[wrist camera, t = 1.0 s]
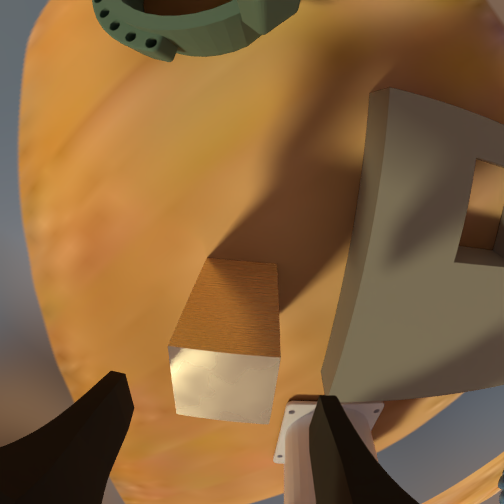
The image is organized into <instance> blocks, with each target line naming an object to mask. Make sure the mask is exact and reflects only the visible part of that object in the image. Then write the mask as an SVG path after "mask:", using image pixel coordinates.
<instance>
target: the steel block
mask: <svg viewBox="0 0 504 504" xmlns="http://www.w3.org/2000/svg"><path fill="white" fill-rule="evenodd" d="M168 351H169V360H170V369H171V377H172V384H173V392H174V399H175V406H176V413H177V414H180V415H186V416H193V417H200V418H207V419H215V420H224V421H233V422H244V423H256V424H269V421H270V415H271V410H272V404H273V399H274V393H275V388H276V382H277V376H278V370H279V364H280V358H281V353H280V323H279V297H278V274H277V264H273V263H261V262H250V261H238V260H226V259H215V258H207V259H206V261H205V263H204V265H203V267H202V269H201V272H200V274H199V276H198V278H197V281H196V283H195V285H194V287H193V289H192V292H191V294H190V296H189V298H188V301H187V303H186V305H185V307H184V310H183V312H182V314H181V317H180V319H179V321H178V323H177V326H176V328H175V330H174V333H173V335H172V337H171V340H170V342H169V344H168Z"/></svg>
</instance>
